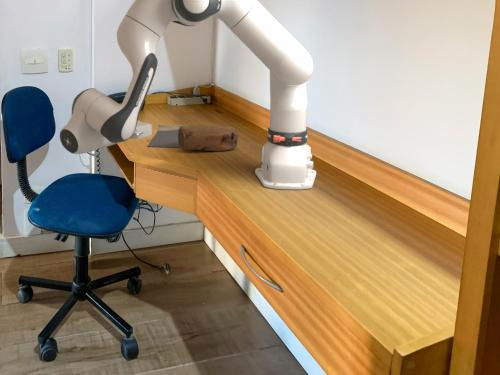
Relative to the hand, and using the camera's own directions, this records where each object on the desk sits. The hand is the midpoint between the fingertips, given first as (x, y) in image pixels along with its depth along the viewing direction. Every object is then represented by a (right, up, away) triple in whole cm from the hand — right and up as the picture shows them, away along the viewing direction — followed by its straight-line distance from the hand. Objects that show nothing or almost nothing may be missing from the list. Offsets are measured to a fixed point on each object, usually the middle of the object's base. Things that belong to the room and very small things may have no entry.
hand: (136, 122), depth 188 cm
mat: (+9, -3, +35) cm, 36 cm away
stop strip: (+9, +2, +47) cm, 48 cm away
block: (+11, -3, +18) cm, 22 cm away
